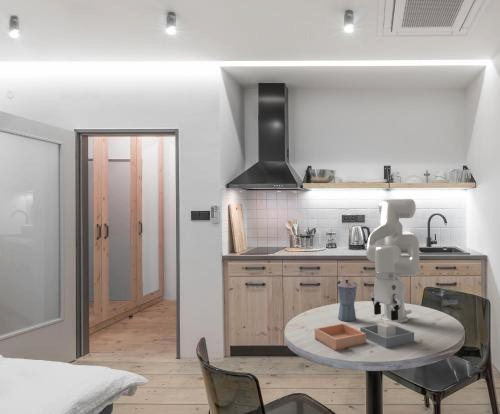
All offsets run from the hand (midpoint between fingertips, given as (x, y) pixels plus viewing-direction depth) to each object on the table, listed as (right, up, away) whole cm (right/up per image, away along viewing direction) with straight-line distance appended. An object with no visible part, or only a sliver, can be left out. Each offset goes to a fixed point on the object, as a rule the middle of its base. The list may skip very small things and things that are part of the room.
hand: (385, 317), depth 154 cm
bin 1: (-19, -11, +1) cm, 22 cm away
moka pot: (-8, -11, +32) cm, 34 cm away
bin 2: (+1, -10, +1) cm, 10 cm away
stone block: (+1, -9, +1) cm, 9 cm away
